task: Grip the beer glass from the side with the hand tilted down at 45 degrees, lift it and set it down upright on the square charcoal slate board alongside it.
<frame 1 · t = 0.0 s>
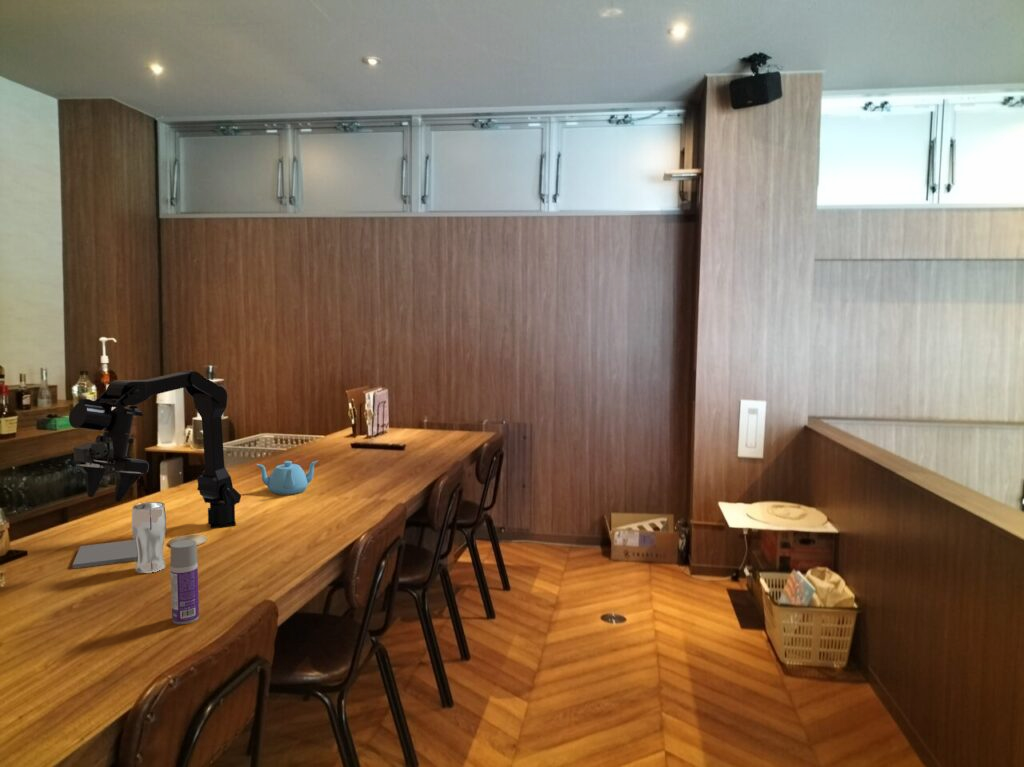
hand: (103, 499, 156), 15 cm above the bar counter, tool pointing down, fingers open, 9 cm apart
slate board: (110, 554, 163), on the bar counter
beer glass: (150, 569, 154), on the bar counter
container: (185, 620, 129), on the bar counter
teapot: (288, 492, 225), on the bar counter
metal coaster: (188, 542, 173), on the bar counter
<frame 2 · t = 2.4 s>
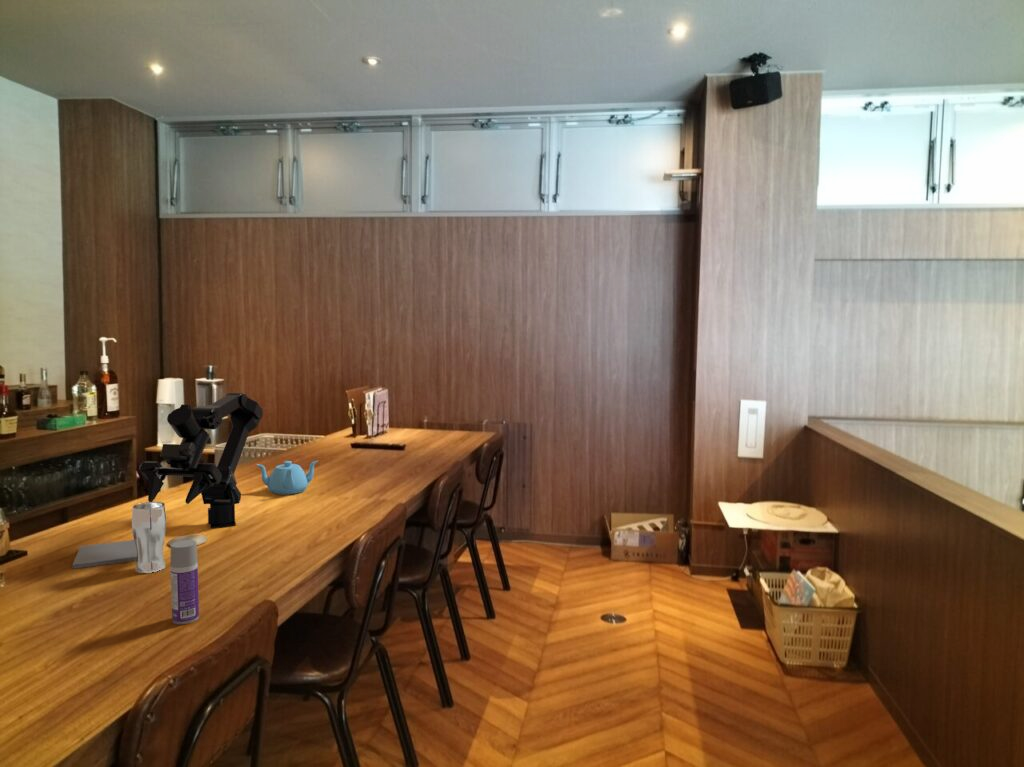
hand: (168, 502, 161), 14 cm above the bar counter, tool tilted 45°, fingers open, 9 cm apart
nothing on the bar counter moved.
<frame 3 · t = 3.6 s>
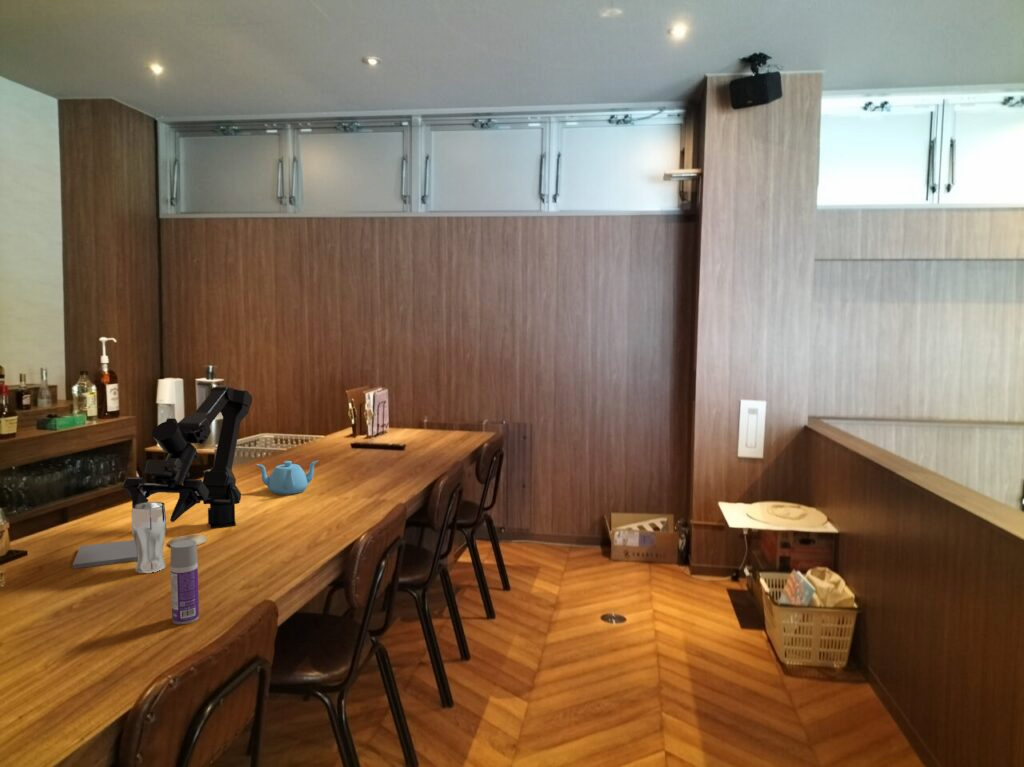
hand: (152, 520, 155), 11 cm above the bar counter, tool tilted 45°, fingers open, 9 cm apart
nothing on the bar counter moved.
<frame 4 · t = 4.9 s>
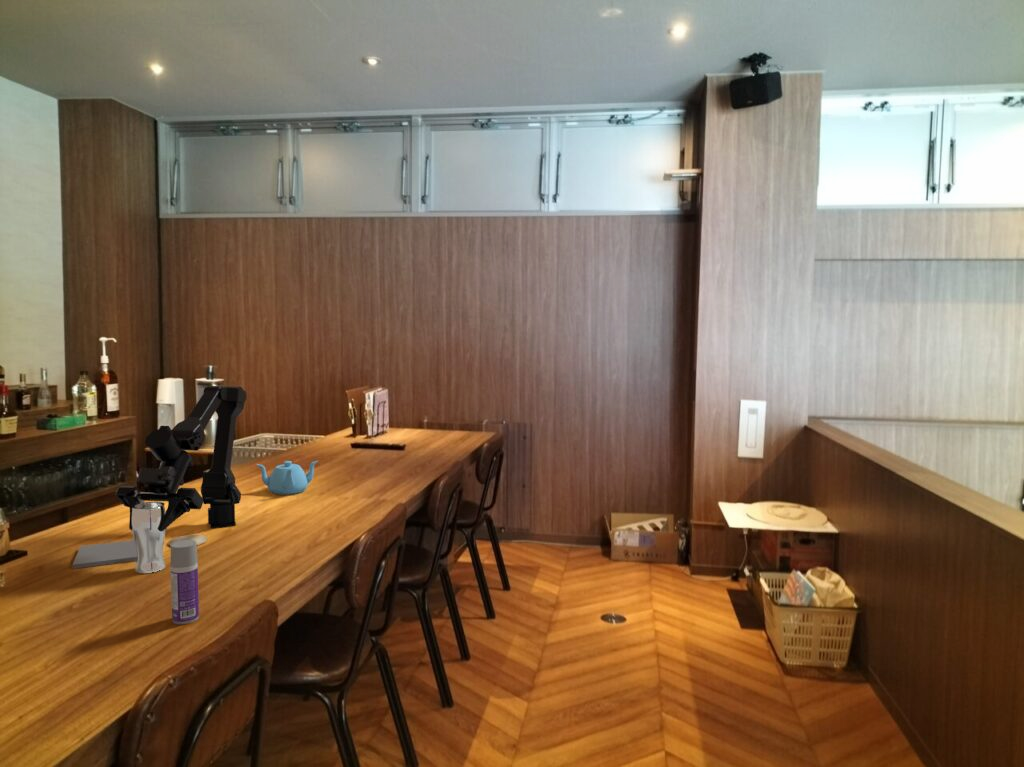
hand: (145, 530, 152), 10 cm above the bar counter, tool tilted 45°, fingers closed on beer glass, 7 cm apart
beer glass: (150, 569, 154), on the bar counter, touching gripper
everything else where it was.
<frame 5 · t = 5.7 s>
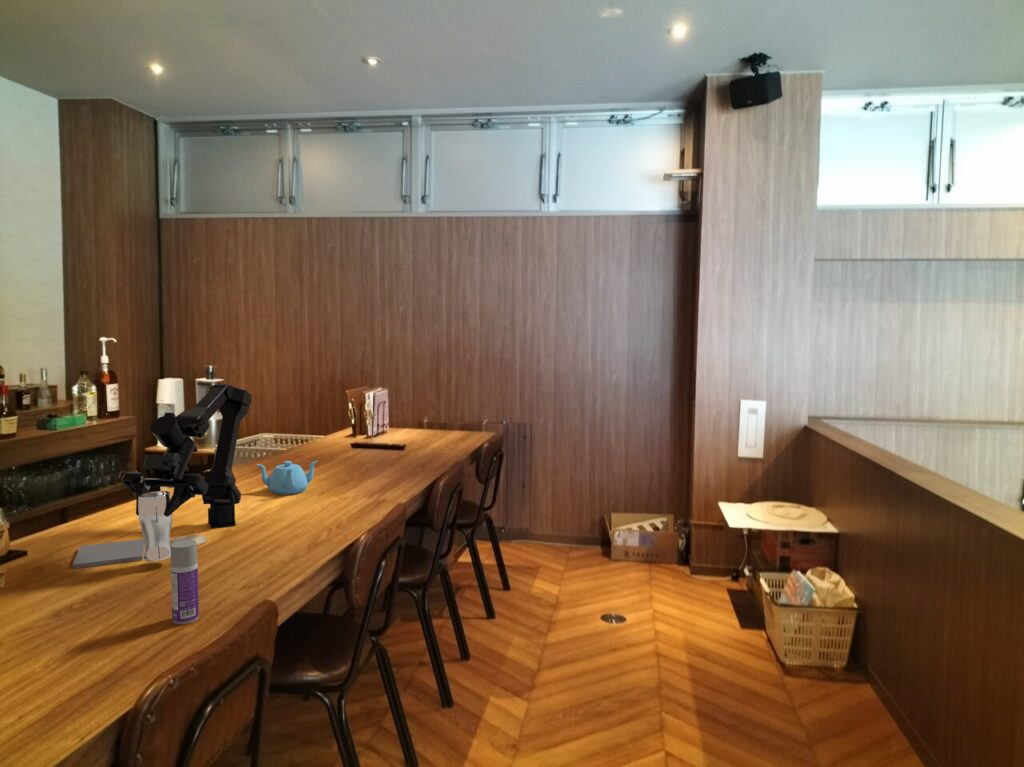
hand: (152, 515, 154), 12 cm above the bar counter, tool tilted 45°, fingers closed on beer glass, 6 cm apart
beer glass: (158, 557, 156), point 2 cm above the bar counter, touching gripper
everything else where it was.
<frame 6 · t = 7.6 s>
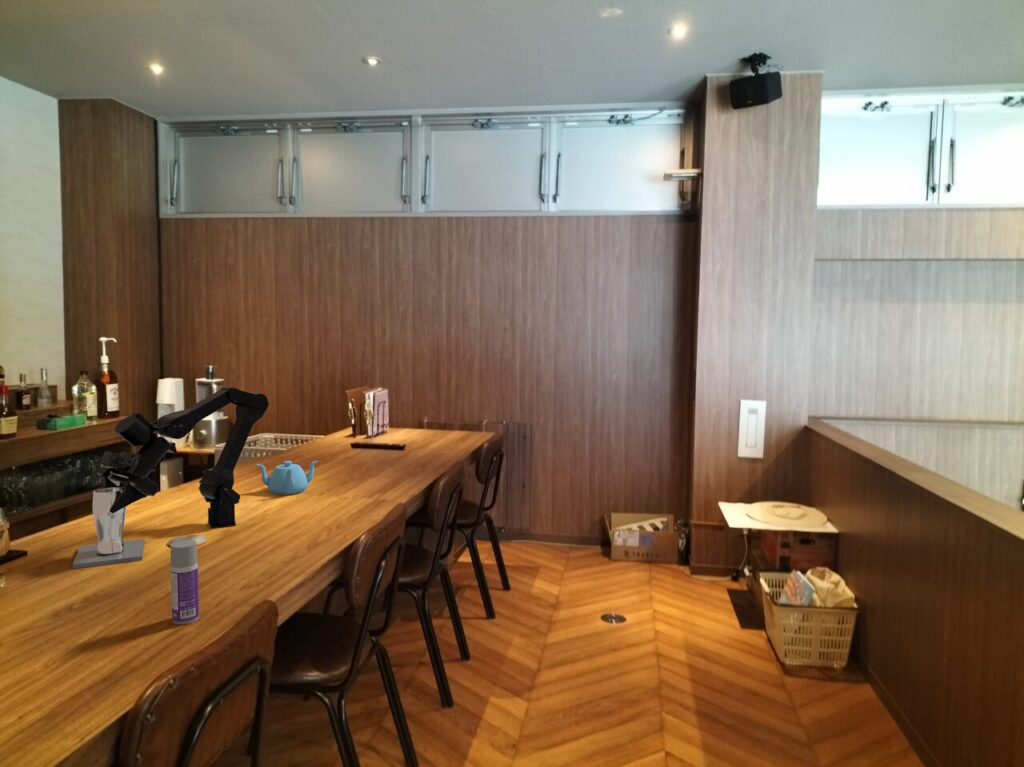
hand: (103, 509, 161), 12 cm above the bar counter, tool tilted 45°, fingers closed on beer glass, 6 cm apart
beer glass: (110, 551, 162), point 1 cm above the bar counter, touching gripper, slate board
everything else where it was.
when the fingers open (12 cm above the bar counter, at t = 8.0 s): beer glass stays where it is, resting on slate board.
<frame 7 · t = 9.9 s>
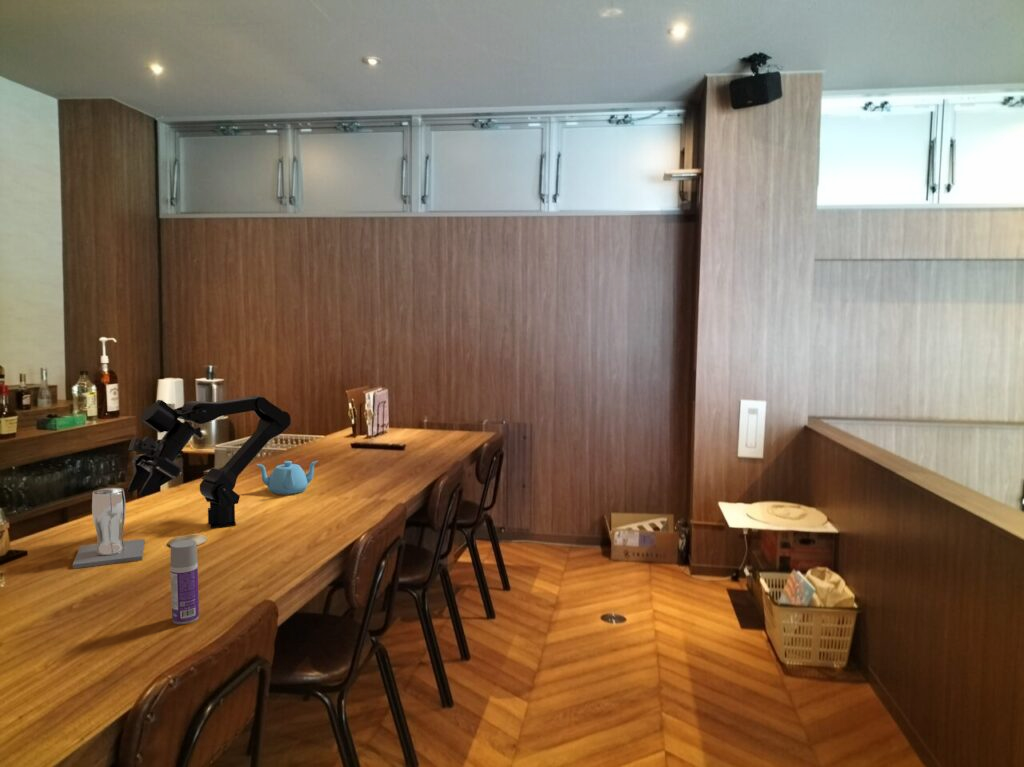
hand: (134, 494, 169), 13 cm above the bar counter, tool tilted 40°, fingers open, 9 cm apart
beer glass: (110, 552, 162), point 1 cm above the bar counter, touching slate board
everything else where it was.
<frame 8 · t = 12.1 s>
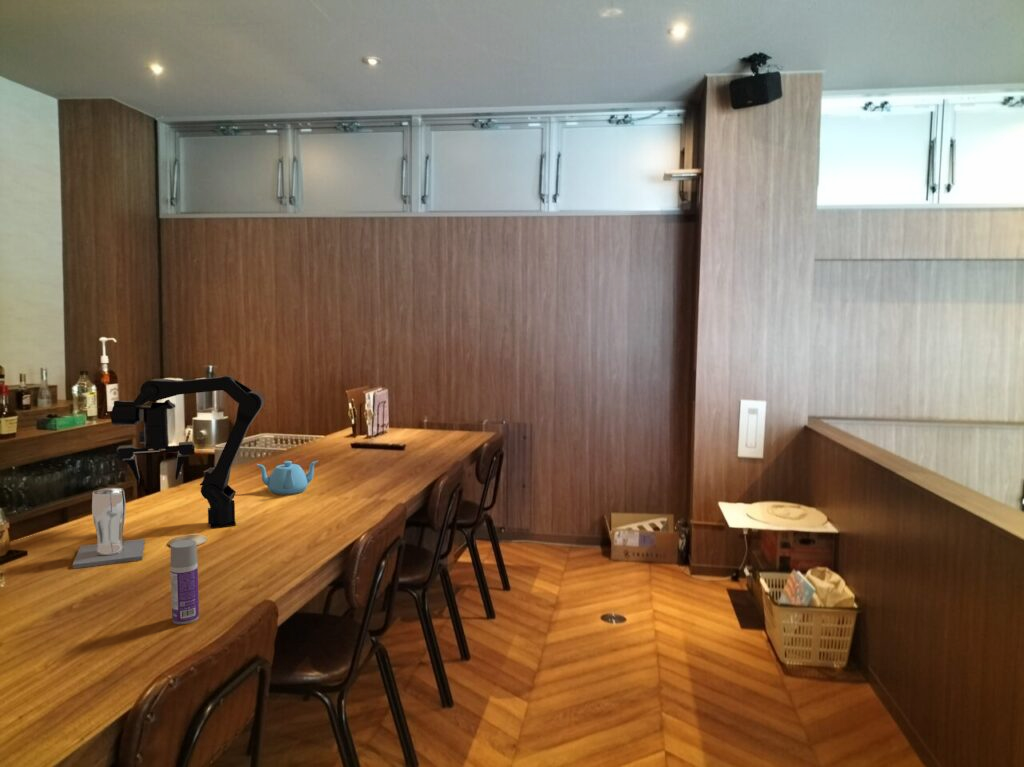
hand: (157, 481, 184), 13 cm above the bar counter, tool pointing down, fingers open, 9 cm apart
nothing on the bar counter moved.
at the end: beer glass inside the target area on the slate board (0.4 cm from its centre), point 0.8 cm above the slate board's base; beer glass tilted 0°; the gripper is holding nothing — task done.
